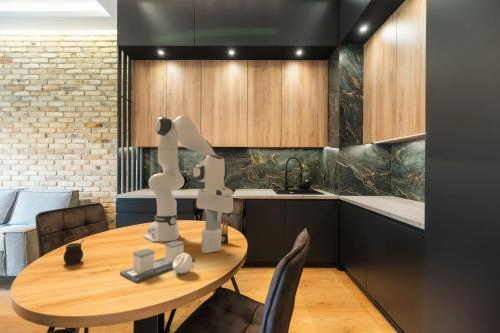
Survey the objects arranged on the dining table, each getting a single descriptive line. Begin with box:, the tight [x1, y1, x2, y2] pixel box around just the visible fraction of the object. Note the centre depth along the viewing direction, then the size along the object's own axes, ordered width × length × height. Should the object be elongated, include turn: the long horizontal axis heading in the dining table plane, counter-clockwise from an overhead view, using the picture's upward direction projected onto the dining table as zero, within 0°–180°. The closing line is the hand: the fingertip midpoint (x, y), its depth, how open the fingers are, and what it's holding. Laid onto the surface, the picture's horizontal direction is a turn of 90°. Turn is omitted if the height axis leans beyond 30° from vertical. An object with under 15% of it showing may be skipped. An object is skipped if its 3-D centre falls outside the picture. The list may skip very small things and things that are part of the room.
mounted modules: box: [132, 240, 185, 273], centre depth 108 cm, size 5×21×7 cm, turn 144°
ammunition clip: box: [221, 221, 229, 245], centre depth 144 cm, size 11×2×12 cm, turn 83°
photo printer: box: [201, 228, 222, 254], centre depth 129 cm, size 10×4×12 cm, turn 123°
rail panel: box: [119, 256, 195, 284], centre depth 108 cm, size 12×28×2 cm, turn 144°
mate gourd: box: [63, 239, 85, 265], centre depth 111 cm, size 7×8×10 cm
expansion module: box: [204, 210, 222, 231], centre depth 116 cm, size 4×6×8 cm, turn 144°
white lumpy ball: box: [172, 252, 193, 275], centre depth 103 cm, size 8×8×8 cm
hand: (213, 220), depth 116 cm, fingers closed on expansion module, 4 cm apart
